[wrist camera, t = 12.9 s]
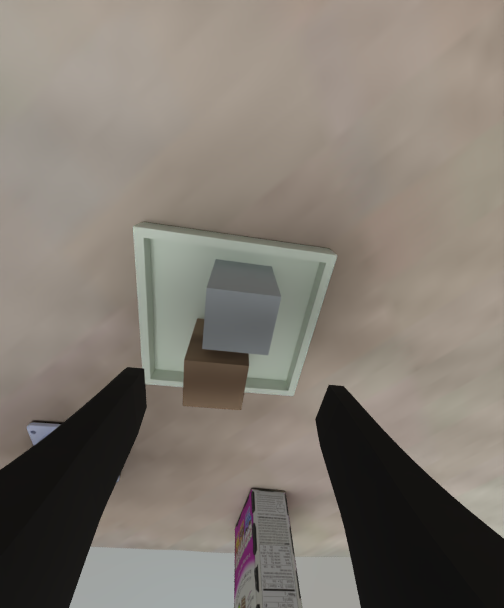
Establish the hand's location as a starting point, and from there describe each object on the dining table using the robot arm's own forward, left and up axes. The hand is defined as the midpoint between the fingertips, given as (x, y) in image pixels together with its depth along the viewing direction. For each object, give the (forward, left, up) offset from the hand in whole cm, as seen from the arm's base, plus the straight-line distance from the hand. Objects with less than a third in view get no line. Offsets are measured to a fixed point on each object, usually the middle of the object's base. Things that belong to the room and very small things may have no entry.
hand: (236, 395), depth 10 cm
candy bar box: (-33, -7, -11) cm, 35 cm away
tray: (-3, +1, -10) cm, 11 cm away
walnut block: (-5, +1, -10) cm, 11 cm away
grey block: (0, 0, -10) cm, 10 cm away
